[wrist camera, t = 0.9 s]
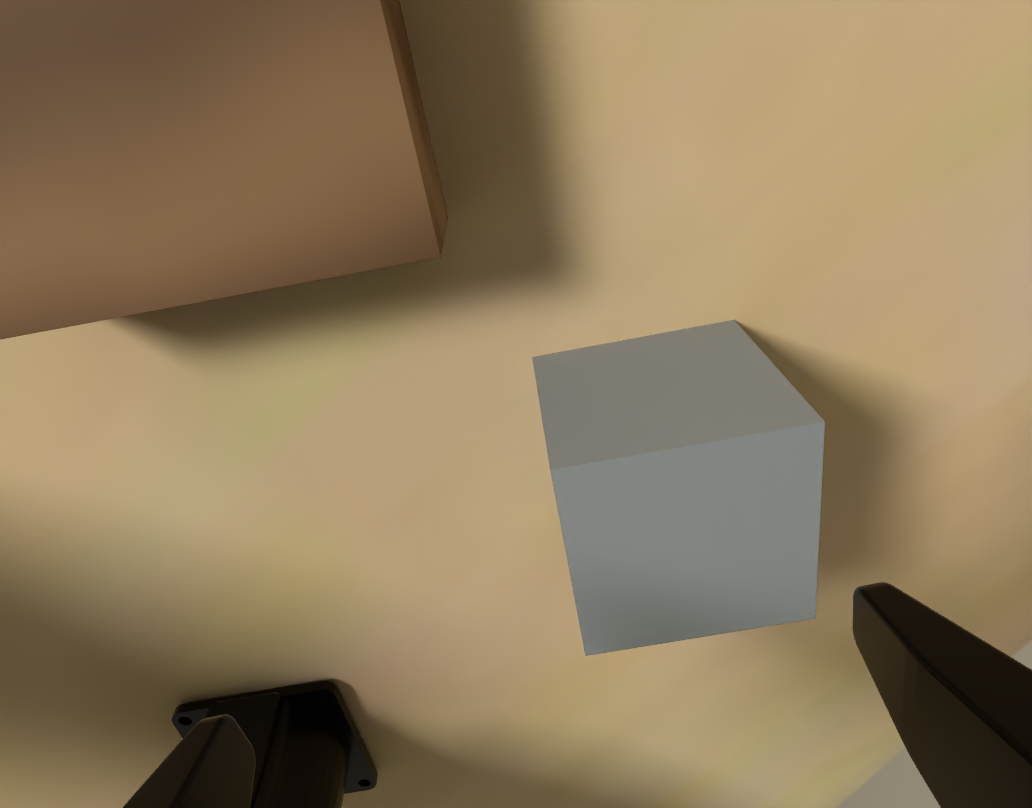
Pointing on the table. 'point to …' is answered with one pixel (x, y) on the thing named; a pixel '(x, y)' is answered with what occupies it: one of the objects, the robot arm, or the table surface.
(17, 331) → the walnut block
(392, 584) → the table surface
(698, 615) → the slate cube
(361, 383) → the table surface
